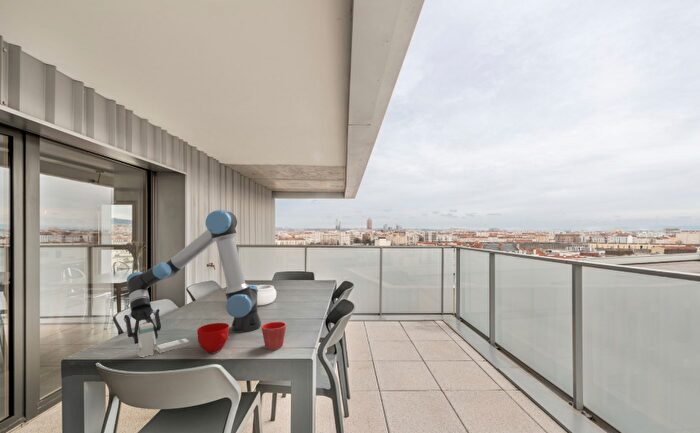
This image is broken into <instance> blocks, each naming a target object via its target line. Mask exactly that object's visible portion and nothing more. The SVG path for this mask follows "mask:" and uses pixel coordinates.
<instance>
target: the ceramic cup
mask: <svg viewBox="0 0 700 433" xmlns="http://www.w3.org/2000/svg"><path fill="white" fill-rule="evenodd" d="M229 331H230V325H229V324H228V323H225V322H215V323H210V324H204V325H201V326H200V327H198V328H197V330H196V335H197V341H198V344H199V346H200V348H201V349H202V350H203V351H204V352H205V353H206V352H208V353H207V354H213V353H212V352H214V353H218V352H221V351H222V348H223V347H224V346H225V345H226V344H227V341H228V338H229V333H230V332H229ZM217 351H218V352H217Z"/></svg>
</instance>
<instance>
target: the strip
mask: <svg viewBox="0 0 700 433" xmlns="http://www.w3.org/2000/svg"><path fill="white" fill-rule="evenodd" d="M186 346H187V347H190V341H189V340H188V339H187V338H181V339H176V340H173V341H169V342H165V343H161V344H156V347H155V350H156V349H157V350H158V352H159V353H160V352H163V351H168V350H172V349H175V350H178V349H177V348H179V349H183V348H186ZM182 347H183V348H182ZM172 351H173V350H172ZM158 352H157V353H158ZM168 352H169V351H168ZM159 353H158V354H159Z"/></svg>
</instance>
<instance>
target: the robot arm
mask: <svg viewBox="0 0 700 433" xmlns="http://www.w3.org/2000/svg"><path fill="white" fill-rule="evenodd" d="M237 225H238V219H237V217H236V215H235V214H234V213H233V212H231V211H228V210H227V211H226V210H223V209H217V210H213V211H211V212H210V213H208V215H207V216H206V218H205V227H206V230H205V231H204V232H202V233H201V234H200V235H198V237H196V238H195V239H194V240H193V241H191V242H189V244H188V245H186V246H185V247H184V248H183V249H181V250H180V251H179V252H178V253H176V254H175V255H174V256H173V257H171V258H170V259H169V260H168V261H166V262H165V261H162V262H159V263H158V264H155V265H154V266H152V267H151V268H149V269H147V270H146V271H144V272H142V271H136V272H131V273H130V274H129V275H128V276H127V277H126V288H127V292H128V298H129V299H128V300H129V305H130V313H129V314H125V315H124V316H123V321H124V322H125V325H126V332H127V337H128V338H132V339H133V341H134V342H133V343H134V344H135V345H136V344H137V348H138V349H139V351H141V349H142V344H141V338H140V334H139V325H140V322H141V321H145V322H146V323H150V322H151V323H152V324H153V327H154V329H153V349H154V348H156V345H158V344H157V339H158V337H159V336H158V332H159V331H161V329H162V324H161V319H160V314H159V313H160V311H161V310H160V309H159V308H157V309H153V308H152V306H151V301H150V295H149V289H148V288H150V287H152V286H154V285H156V284H157V283H159V282H161V281H164V280H167V279H169V278H173V277H175V276H176V275H178V274H179V272H180V271H181V270H182V269H183V268H185V267H186V266H187V265H188V264H189V263H191V261H192V262H193V260H195V259H196V258H197V257H198V256H199V255H200V254H202V253H203V252H204V251H205V250H207V249H208V248H209V247H210V246H212V245H213V244H214V243H216V246H217V251H218V255H219V259H220V263H221V267H222V271H223V275H224V279H225V283H226V287H227V289H226V291H225V298H226V303H225V309H226V312H227V313H228V315H229V316H231V317H232V318H233V320H232V323H231V330H232V331H233V332H236V333H245V332H252V331H255V330H258V329H260V328H262V323H261V322H262V321H261V319H260V318H261V317H260V315H259V312H258V291H259V290H258V285H256V284H247V283H246V281H245V276H244V273H243V272H244V271H243V269H242V263H241V261H240V255H239V251H238V247H237V245H236V240H235V239H236V238H235V237H236V236H237V231H236V228H237ZM152 314H153V316H154V320H155V322H154V321H153V319H152V317H151V315H152ZM131 318H133V319H134V320H135V324H134V330H133V328H132V322H131Z"/></svg>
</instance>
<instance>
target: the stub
mask: <svg viewBox="0 0 700 433" xmlns="http://www.w3.org/2000/svg"><path fill="white" fill-rule="evenodd" d="M153 329H154V327H153V324H152V323H151V322H150V323H147V322H146V323H145V322H144V323H142V324H140V323H139V327H138V334H140V338H141V344H142V349H141V351H139V349H138V353H139V355H140V357H142V356H146V355H149V354H153V355H154V348H153ZM139 355H138V356H139ZM140 357H139V358H140Z"/></svg>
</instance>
